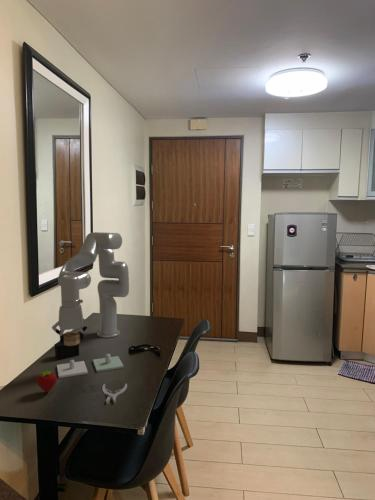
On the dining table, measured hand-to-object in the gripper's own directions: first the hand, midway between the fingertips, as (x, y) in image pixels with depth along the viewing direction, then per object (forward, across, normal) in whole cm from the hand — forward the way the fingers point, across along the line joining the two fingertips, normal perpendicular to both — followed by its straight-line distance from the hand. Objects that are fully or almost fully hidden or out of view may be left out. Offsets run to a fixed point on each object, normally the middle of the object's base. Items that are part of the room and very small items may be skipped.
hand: (71, 342), depth 165 cm
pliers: (+13, -13, +28) cm, 33 cm away
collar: (0, 0, 0) cm, 0 cm away
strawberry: (+13, +11, +18) cm, 24 cm away
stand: (+13, 0, 0) cm, 13 cm away
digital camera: (+14, +1, -17) cm, 22 cm away
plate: (+13, -16, 0) cm, 20 cm away
